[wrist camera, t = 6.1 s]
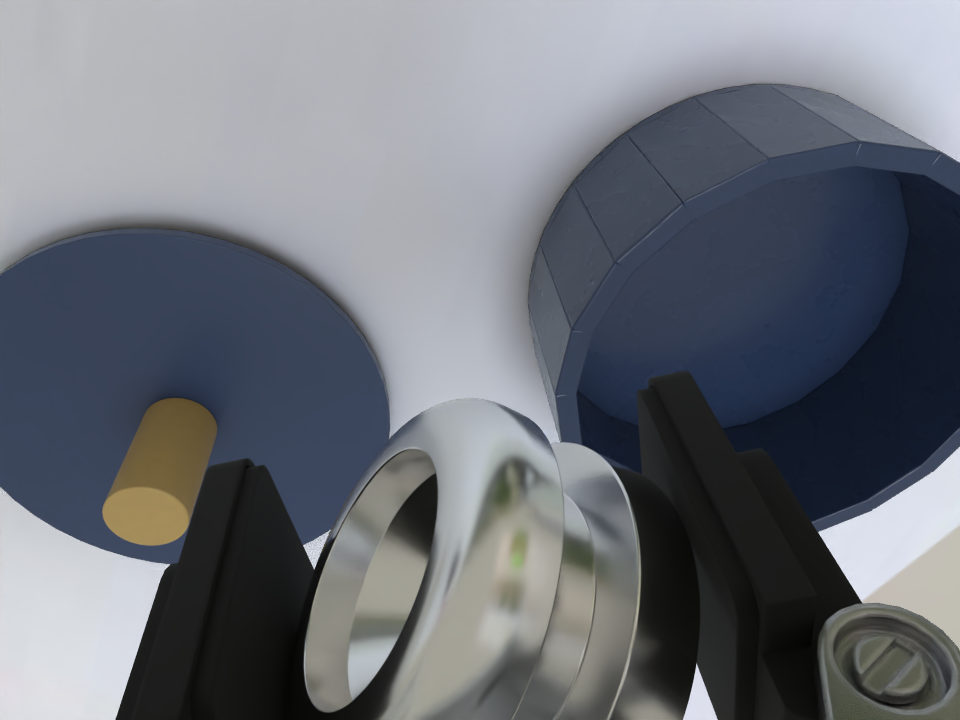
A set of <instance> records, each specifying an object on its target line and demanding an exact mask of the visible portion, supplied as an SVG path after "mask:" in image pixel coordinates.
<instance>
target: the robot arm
mask: <svg viewBox="0 0 960 720" xmlns="http://www.w3.org/2000/svg"><path fill="white" fill-rule="evenodd" d="M637 408H638V422H639V436H640V450H641V465H642V475H643V476H645V477H647V478H648V479H649V480H651V481H652V482H653V483H655V484H656V485H657V486H658V487H659V488H660V489H661V490H662V491H663V492H664V493H665V495H666V496H667V497H668V498H669V500H670V501H671V503H672V504H673V506H674V507H675V509H676V510H677V512H678V514H679V516H680V518H681V520H682V522H683V525H684V527H685V529H686V532H687V534H688V537H689V540H690V543H691V546H692V550H693V554H694V558H695V563H696V568H697V574H698V582H699V592H700V637H699V648H698V656H697V665H698V668H699V671H700V673H701V676H702V679H703V681H704V684H705V687H706V689H707V692H708V695H709V697H710V700H711V703H712V705H713V708H714V711H715V713H716V716H717V719H718V720H960V650H959V648H958V647H957V646H956V645H955V644H954V642H953V641H952V640H951V639H950V638H949V637H948V636H947V635H946V634H945V633H944V631H943V630H941V629H940V628H939V627H937V626H936V625H934V624H933V623H931V622H930V621H928V620H927V619H925V618H924V617H922V616H920V615H918V614H915V613H913V612H911V611H908V610H906V609H904V608H901V607H897V606H891V605H886V604H881V603H866V604H862V602H861V600H860V599H859V597H858V596H857V594H856V592H855V591H854V589H853V588H852V586H851V584H850V583H849V581H848V580H847V578H846V576H845V575H844V573H843V572H842V570H841V568H840V567H839V565H838V564H837V562H836V560H835V559H834V557H833V556H832V554H831V552H830V551H829V549H828V548H827V546H826V545H825V543H824V541H823V540H822V538H821V537H820V535H819V533H818V532H817V530H816V529H815V527H814V525H813V524H812V522H811V521H810V519H809V517H808V516H807V514H806V513H805V511H804V509H803V508H802V506H801V505H800V503H799V501H798V500H797V498H796V497H795V495H794V493H793V492H792V490H791V489H790V487H789V485H788V484H787V482H786V481H785V479H784V477H783V476H782V474H781V473H780V471H779V469H778V468H777V466H776V465H775V463H774V461H773V460H772V458H771V457H770V456H769V455H768V453H767V452H766V451H764V450H763V449H761V448H759V449H754V450H749V451H744V452H738V453H736V452H735V450H734V448H733V446H732V445H731V443H730V441H729V439H728V438H727V436H726V434H725V432H724V431H723V429H722V427H721V425H720V424H719V422H718V420H717V419H716V417H715V415H714V413H713V412H712V410H711V408H710V406H709V405H708V403H707V401H706V399H705V398H704V396H703V394H702V392H701V391H700V389H699V387H698V385H697V384H696V382H695V380H694V378H693V377H692V375H691V374H690V372H689V371H682V372H676V373H671V374H666V375H661V376H656V377H651V378H650V379H649V382H648V388H647V389H642V390H638V391H637ZM313 573H314V569H313V566H312V564H311V562H310V560H309V558H308V555H307V553H306V551H305V549H304V547H303V545H302V542H301V540H300V538H299V536H298V534H297V531H296V529H295V527H294V525H293V523H292V521H291V518H290V516H289V514H288V512H287V510H286V507H285V505H284V503H283V501H282V499H281V496H280V494H279V492H278V490H277V488H276V486H275V483H274V481H273V479H272V477H271V475H270V472H269V471H268V469H267V467H266V466H265V465H260V466H255V464H254V463H253V461H252V460H250V459H249V458H245V459H240V460H235V461H230V462H225V463H220V464H215V465H211V466H209V467H208V469H207V471H206V473H205V476H204V479H203V483H202V486H201V489H200V493H199V496H198V499H197V502H196V506H195V509H194V512H193V516H192V519H191V522H190V525H189V529H188V532H187V535H186V538H185V542H184V545H183V548H182V552H181V555H180V558H179V561H178V563H174V564H171V565H170V566H169V567H168V568H167V569H166V570H165V571H164V574H163V576H162V578H161V580H160V583H159V586H158V590H157V593H156V596H155V599H154V602H153V605H152V608H151V611H150V614H149V618H148V621H147V624H146V627H145V630H144V633H143V636H142V639H141V642H140V645H139V649H138V652H137V655H136V658H135V661H134V664H133V667H132V670H131V673H130V677H129V680H128V683H127V686H126V689H125V692H124V695H123V698H122V701H121V704H120V708H119V711H118V714H117V717H116V720H289V717H288V688H289V675H290V666H291V659H292V653H293V647H294V641H295V636H296V632H297V627H298V623H299V619H300V615H301V611H302V607H303V604H304V600H305V597H306V594H307V590H308V587H309V584H310V581H311V578H312V575H313Z"/></svg>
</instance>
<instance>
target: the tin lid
mask: <svg viewBox="0 0 960 720" xmlns="http://www.w3.org/2000/svg"><path fill="white" fill-rule="evenodd" d="M389 432H390V412H389V399H388V394H387V390H386V385H385V380H384V378H383V375H382V372H381V370H380V367H379V365H378V362H377V359H376V357H375V356H374V354H373V352H372V350H371V348H370V347H369V345H368V343H367V341H366V340H365V338H364V336H363V335H362V334H361V333H360V331H359V330H358V329H357V327H356V326H355V325H354V323H353V322H352V321H351V319H350V318H349V317H348V316H347V315H346V314H345V313H344V312H343V311H342V310H341V309H340V308H339V307H338V306H337V305H336V304H335V303H334V302H333V301H332V300H331V299H330V298H329V297H328V296H327V295H326V294H324V293H323V292H322V291H321V290H319V289H318V288H317V287H315V286H314V285H313V284H312V283H310V282H309V281H308V280H307V279H305V278H304V277H302V276H300V275H299V274H297V273H295V272H294V271H292V270H290V269H289V268H287V267H286V266H284V265H282V264H281V263H279V262H277V261H275V260H272V259H270V258H268V257H266V256H264V255H262V254H260V253H257V252H255V251H253V250H251V249H248V248H245V247H242V246H239V245H236V244H233V243H230V242H227V241H225V240H222V239H218V238H213V237H209V236H204V235H200V234H195V233H191V232H184V231H175V230H166V229H156V228H136V229H115V230H107V231H100V232H92V233H87V234H83V235H80V236H76V237H72V238H68V239H64V240H61V241H58V242H56V243H53V244H51V245H49V246H46V247H44V248H41V249H39V250H37V251H34V252H32V253H31V254H29V255H27V256H26V257H24V258H22V259H21V260H19V261H18V262H16V263H14V264H13V265H11V266H9V267H8V268H7V269H6V270H5V271H4V272H3V273H1V274H0V487H1V488H2V489H3V490H4V491H5V492H7V493H8V494H9V495H10V496H11V497H12V498H13V499H14V500H15V501H16V502H18V503H19V504H20V505H22V506H23V507H24V508H26V509H27V510H28V511H30V512H31V513H32V514H34V515H35V516H37V517H38V518H40V519H41V520H43V521H45V522H46V523H48V524H49V525H51V526H53V527H54V528H56V529H58V530H60V531H62V532H64V533H66V534H68V535H70V536H72V537H74V538H76V539H78V540H80V541H83V542H85V543H88V544H90V545H93V546H96V547H98V548H101V549H103V550H106V551H110V552H113V553H117V554H120V555H123V556H127V557H131V558H136V559H140V560H145V561H150V562H156V563H164V564H174V563H178V561H179V558H180V555H181V552H182V548H183V545H184V542H185V538H186V535H187V532H188V529H189V525H190V522H191V519H192V516H193V512H194V509H195V506H196V502H197V499H198V496H199V493H200V489H201V486H202V483H203V479H204V476H205V473H206V471H207V469H208V467H209V466H211V465H215V464H220V463H225V462H230V461H235V460H240V459H245V458H249V459H250V460H252V461H253V463H254V464H255V466H260V465H265V466H266V467H267V469H268V471H269V472H270V475H271V477H272V479H273V481H274V483H275V486H276V488H277V490H278V492H279V494H280V496H281V499H282V501H283V503H284V505H285V507H286V510H287V512H288V514H289V516H290V518H291V521H292V523H293V525H294V527H295V529H296V531H297V534H298V536H299V538H300V540H301V542H302V545H304V544H306V543H308V542H310V541H313V540H314V539H316V538H318V537H319V536H321V535H323V534H324V533H326V532H327V531H329V530H331V529H332V527H333V524H334V522H335V520H336V518H337V516H338V514H339V512H340V510H341V509H342V507H343V505H344V503H345V501H346V499H347V498H348V496H349V494H350V492H351V491H352V489H353V487H354V486H355V484H356V482H357V481H358V479H359V478H360V476H361V475H362V473H363V472H364V470H365V469H366V467H367V466H368V464H369V463H370V462H371V460H372V459H373V458H374V456H375V455H376V454H377V453H378V451H379V450H380V449H381V448H382V447H383V446H384V444H385V443H386V442H387V441H388V440H389Z"/></svg>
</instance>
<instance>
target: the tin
mask: <svg viewBox="0 0 960 720" xmlns="http://www.w3.org/2000/svg"><path fill="white" fill-rule="evenodd" d="M528 307H529V318H530V326H531V330H532V334H533V341H534V348H535V354H536V357H537V361H538V365H539V368H540V372H541V375H542V379H543V383H544V386H545V390H546V393H547V397H548V401H549V404H550V408H551V411H552V415H553V419H554V422H555V426H556V429H557V433H558V437H559V440H560V442H567V443H575V444H579V445H582V446H585V447H588V448H590V449H592V450H594V451H596V452H598V453H600V454H602V455H604V456H606V457H608V458H610V459H612V460H614V461H616V462H618V463H620V464H622V465H624V466H626V467H628V468H630V469H632V470H634V471H636V472H638V473H640V474H642V465H641V450H640V436H639V422H638V408H637V391H638V390H642V389H647V388H648V382H649V379H650V378H651V377H656V376H661V375H666V374H671V373H676V372H682V371H689V372H690V374H691V375H692V377H693V378H694V380H695V382H696V384H697V385H698V387H699V389H700V391H701V392H702V394H703V396H704V398H705V399H706V401H707V403H708V405H709V406H710V408H711V410H712V412H713V413H714V415H715V417H716V419H717V420H718V422H719V424H720V425H721V427H722V429H723V431H724V432H725V434H726V436H727V438H728V439H729V441H730V443H731V445H732V446H733V448H734V450H735V452H736V453H738V452H744V451H749V450H754V449H759V448H761V449H763V450H764V451H766V452H767V453H768V455H769V456H770V457H771V458H772V460H773V461H774V463H775V465H776V466H777V468H778V469H779V471H780V473H781V474H782V476H783V477H784V479H785V481H786V482H787V484H788V485H789V487H790V489H791V490H792V492H793V493H794V495H795V497H796V498H797V500H798V501H799V503H800V505H801V506H802V508H803V509H804V511H805V513H806V514H807V516H808V517H809V519H810V521H811V522H812V524H813V525H814V527H815V529H816V530H817V532H819V531H822V530H824V529H827V528H829V527H832V526H834V525H837V524H839V523H842V522H844V521H847V520H849V519H852V518H854V517H857V516H860V515H862V514H865V513H867V512H870V511H872V510H873V509H875V508H877V507H878V506H880V505H881V504H883V503H884V502H886V501H888V500H889V499H891V498H892V497H894V496H896V495H897V494H899V493H900V492H902V491H903V490H905V489H907V488H908V487H910V486H911V485H913V484H914V483H916V482H918V481H919V480H921V479H922V478H924V477H925V476H927V475H929V474H930V473H931V472H934V471H935V470H936V469H937V468H938V467H939V466H940V465H941V464H942V463H943V462H944V461H945V460H946V459H947V458H948V457H949V456H950V455H951V454H952V453H953V452H954V451H955V450H956V449H958V448H959V447H960V163H959V162H958V161H956V160H954V159H953V158H951V157H949V156H948V155H946V154H944V153H943V152H941V151H939V150H937V149H935V148H933V147H932V146H930V145H928V144H926V143H924V142H922V141H920V140H919V139H917V138H915V137H913V136H911V135H909V134H908V133H906V132H904V131H902V130H900V129H898V128H897V127H895V126H893V125H891V124H889V123H887V122H885V121H884V120H882V119H880V118H878V117H876V116H874V115H873V114H871V113H869V112H867V111H865V110H863V109H862V108H860V107H858V106H856V105H854V104H852V103H850V102H849V101H847V100H845V99H843V98H841V97H839V96H838V95H834V94H829V93H823V92H820V91H817V90H814V89H810V88H804V87H797V86H791V85H785V84H753V85H745V86H738V87H730V88H724V89H720V90H716V91H713V92H709V93H705V94H701V95H697V96H695V97H692V98H690V99H687V100H685V101H682V102H680V103H677V104H675V105H672V106H670V107H667V108H665V109H664V110H662V111H660V112H658V113H656V114H654V115H653V116H651V117H649V118H647V119H645V120H643V121H642V122H640V123H638V124H637V125H636V126H634V127H633V128H631V129H630V130H629V131H627V132H626V133H624V134H623V135H621V136H620V137H619V138H617V139H616V140H615V141H613V142H612V143H611V144H610V145H609V146H608V147H607V148H606V149H604V150H603V151H602V152H601V153H600V154H599V155H598V156H597V157H595V158H594V159H593V160H592V161H591V162H590V164H589V165H588V166H587V167H586V168H585V169H584V170H583V172H582V173H581V174H580V175H579V176H578V177H577V178H576V179H575V181H574V182H573V183H572V184H571V186H570V187H569V189H568V190H567V192H566V193H565V195H564V196H563V197H562V199H561V200H560V202H559V203H558V205H557V206H556V208H555V210H554V212H553V214H552V216H551V218H550V220H549V222H548V223H547V225H546V227H545V229H544V232H543V234H542V237H541V240H540V243H539V245H538V248H537V251H536V253H535V258H534V262H533V267H532V271H531V276H530V285H529V298H528Z"/></svg>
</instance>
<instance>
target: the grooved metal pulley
mask: <svg viewBox="0 0 960 720" xmlns="http://www.w3.org/2000/svg"><path fill="white" fill-rule="evenodd" d="M699 637H700V592H699V582H698V574H697V568H696V563H695V558H694V554H693V550H692V546H691V543H690V540H689V537H688V534H687V532H686V529H685V527H684V525H683V522H682V520H681V518H680V516H679V514H678V512H677V510H676V509H675V507H674V506H673V504H672V503H671V501H670V500H669V498H668V497H667V496H666V495H665V493H664V492H663V491H662V490H661V489H660V488H659V487H658V486H657V485H656V484H655V483H653V482H652V481H651V480H649V479H648V478H647V477H645V476H643V475H642V474H640V473H638V472H636V471H634V470H632V469H630V468H628V467H626V466H624V465H622V464H620V463H618V462H616V461H614V460H612V459H610V458H608V457H606V456H604V455H602V454H600V453H598V452H596V451H594V450H592V449H590V448H588V447H585V446H582V445H579V444H575V443H567V442H560V443H552V444H550V443H549V441H548V439H547V437H546V436H545V434H544V433H543V432H542V430H541V429H540V428H539V427H538V426H537V425H536V424H535V423H534V422H533V421H532V420H530V419H529V418H527V417H526V416H524V415H522V414H520V413H518V412H516V411H514V410H512V409H510V408H508V407H506V406H503V405H501V404H499V403H496V402H493V401H489V400H484V399H477V398H463V399H455V400H450V401H446V402H443V403H440V404H437V405H435V406H433V407H431V408H429V409H427V410H425V411H423V412H421V413H420V414H418V415H417V416H415V417H414V418H412V419H411V420H410V421H408V422H407V423H406V424H405V425H403V426H402V427H401V428H400V429H399V430H398V431H397V432H396V433H395V434H394V435H393V436H392V437H391V438H390V439H389V440H388V441H387V442H386V443H385V444H384V446H383V447H382V448H381V449H380V450H379V451H378V453H377V454H376V455H375V456H374V458H373V459H372V460H371V462H370V463H369V464H368V466H367V467H366V469H365V470H364V472H363V473H362V475H361V476H360V478H359V479H358V481H357V482H356V484H355V486H354V487H353V489H352V491H351V492H350V494H349V496H348V498H347V499H346V501H345V503H344V505H343V507H342V509H341V510H340V512H339V514H338V516H337V518H336V520H335V522H334V524H333V527H332V529H331V531H330V533H329V535H328V538H327V540H326V542H325V544H324V547H323V549H322V552H321V554H320V557H319V559H318V562H317V564H316V567H315V570H314V573H313V575H312V578H311V581H310V584H309V587H308V590H307V594H306V597H305V600H304V604H303V607H302V611H301V615H300V619H299V623H298V627H297V632H296V636H295V641H294V647H293V653H292V659H291V666H290V675H289V688H288V717H289V720H683V717H684V714H685V711H686V708H687V704H688V701H689V697H690V693H691V689H692V684H693V680H694V674H695V669H696V663H697V656H698V648H699Z"/></svg>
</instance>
